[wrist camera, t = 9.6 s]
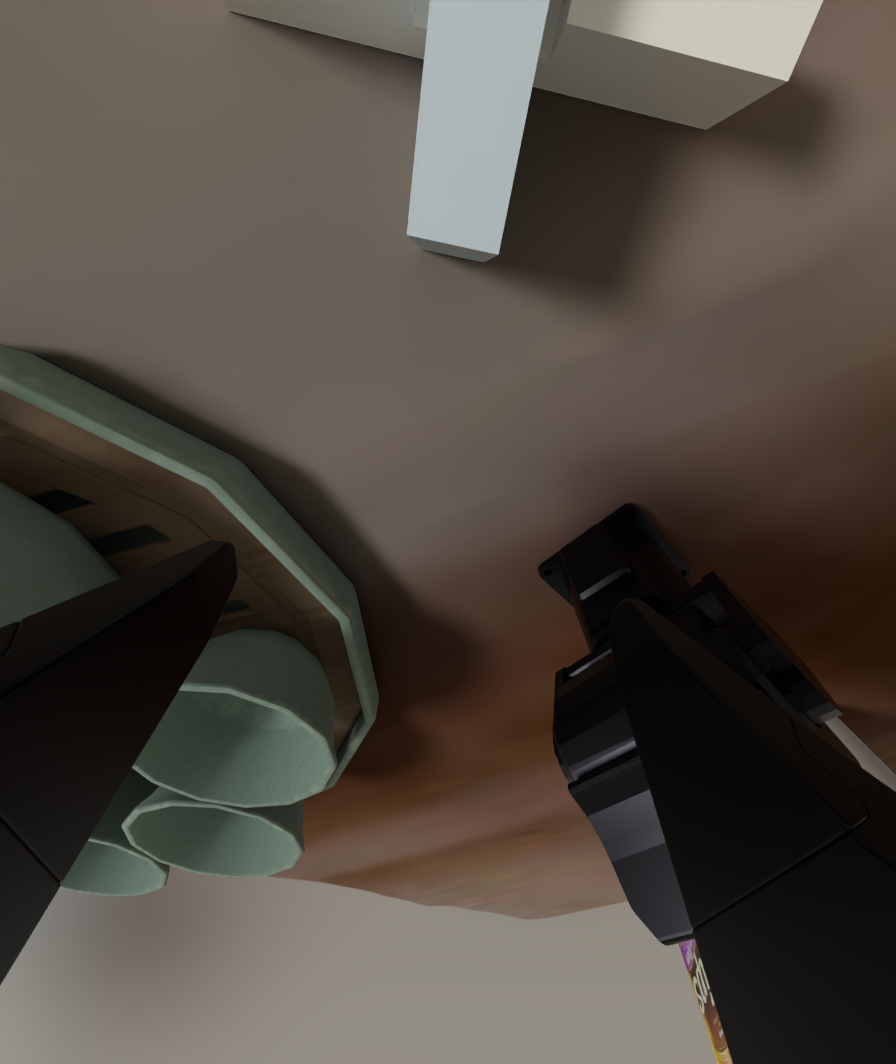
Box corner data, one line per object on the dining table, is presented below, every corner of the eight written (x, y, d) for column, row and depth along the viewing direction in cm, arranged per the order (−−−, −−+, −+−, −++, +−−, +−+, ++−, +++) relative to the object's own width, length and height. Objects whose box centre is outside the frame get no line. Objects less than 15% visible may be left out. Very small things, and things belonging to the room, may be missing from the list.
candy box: (669, 835, 43) (763, 1075, 30) (710, 835, 43) (822, 1075, 30) (650, 868, 48) (723, 1087, 35) (687, 868, 48) (774, 1088, 35)
